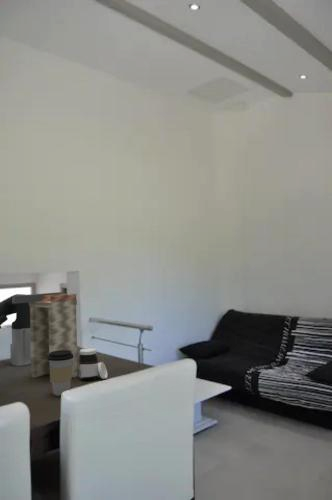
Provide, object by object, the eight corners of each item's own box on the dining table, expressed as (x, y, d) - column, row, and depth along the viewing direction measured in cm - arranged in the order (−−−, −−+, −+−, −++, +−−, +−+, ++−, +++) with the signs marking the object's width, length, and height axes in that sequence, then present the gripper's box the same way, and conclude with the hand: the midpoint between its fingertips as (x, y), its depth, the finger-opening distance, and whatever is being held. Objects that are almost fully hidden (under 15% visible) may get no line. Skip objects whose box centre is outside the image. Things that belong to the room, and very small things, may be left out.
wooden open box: (52, 383, 171) (50, 296, 171) (30, 376, 181) (28, 295, 182) (78, 375, 180) (76, 294, 181) (56, 370, 191) (54, 293, 192)
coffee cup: (79, 390, 160) (78, 350, 160) (65, 398, 151) (64, 355, 151) (57, 388, 163) (56, 349, 163) (42, 396, 154) (41, 354, 155)
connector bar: (14, 303, 173) (14, 296, 173) (12, 303, 175) (12, 295, 175) (62, 299, 186) (62, 292, 186) (59, 299, 188) (59, 292, 188)
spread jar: (77, 376, 180) (76, 348, 180) (103, 373, 184) (103, 345, 184) (82, 383, 169) (81, 354, 169) (110, 380, 173) (109, 351, 173)
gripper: (-32, 336, 151) (5, 309, 162) (-49, 332, 160) (-13, 307, 171) (-21, 353, 153) (14, 325, 164) (-39, 348, 163) (-4, 322, 174)
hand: (0, 316), depth 168 cm, fingers open, 8 cm apart
